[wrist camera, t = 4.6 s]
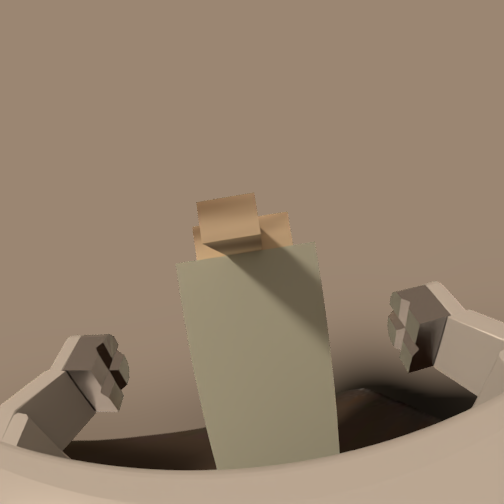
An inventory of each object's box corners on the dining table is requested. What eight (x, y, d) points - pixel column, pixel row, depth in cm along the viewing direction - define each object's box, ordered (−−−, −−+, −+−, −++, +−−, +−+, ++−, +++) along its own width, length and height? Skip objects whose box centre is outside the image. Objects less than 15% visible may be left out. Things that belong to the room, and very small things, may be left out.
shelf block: (236, 532, 20) (175, 263, 22) (242, 483, 29) (200, 266, 31) (342, 519, 20) (314, 241, 22) (327, 471, 29) (300, 250, 31)
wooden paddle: (313, 225, 13) (302, 169, 13) (152, 252, 13) (146, 196, 13) (284, 253, 32) (280, 229, 32) (215, 264, 32) (212, 240, 32)
